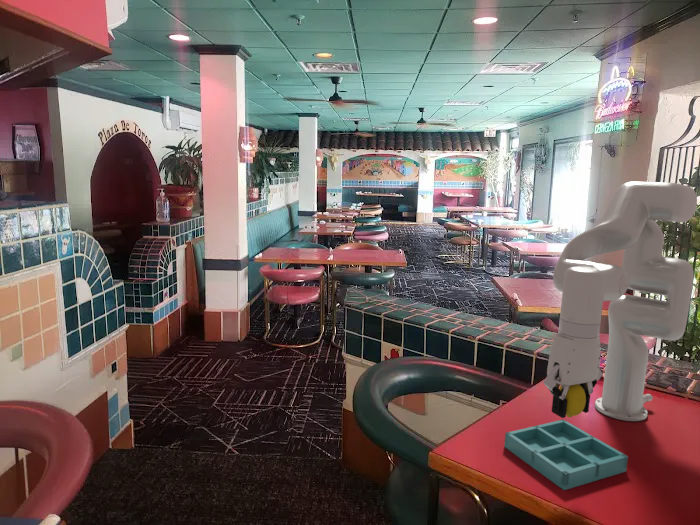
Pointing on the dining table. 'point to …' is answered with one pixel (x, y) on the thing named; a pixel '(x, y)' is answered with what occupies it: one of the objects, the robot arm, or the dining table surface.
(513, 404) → the dining table surface
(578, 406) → the lemon
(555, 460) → the square compartment tray
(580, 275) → the robot arm
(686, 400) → the dining table surface
